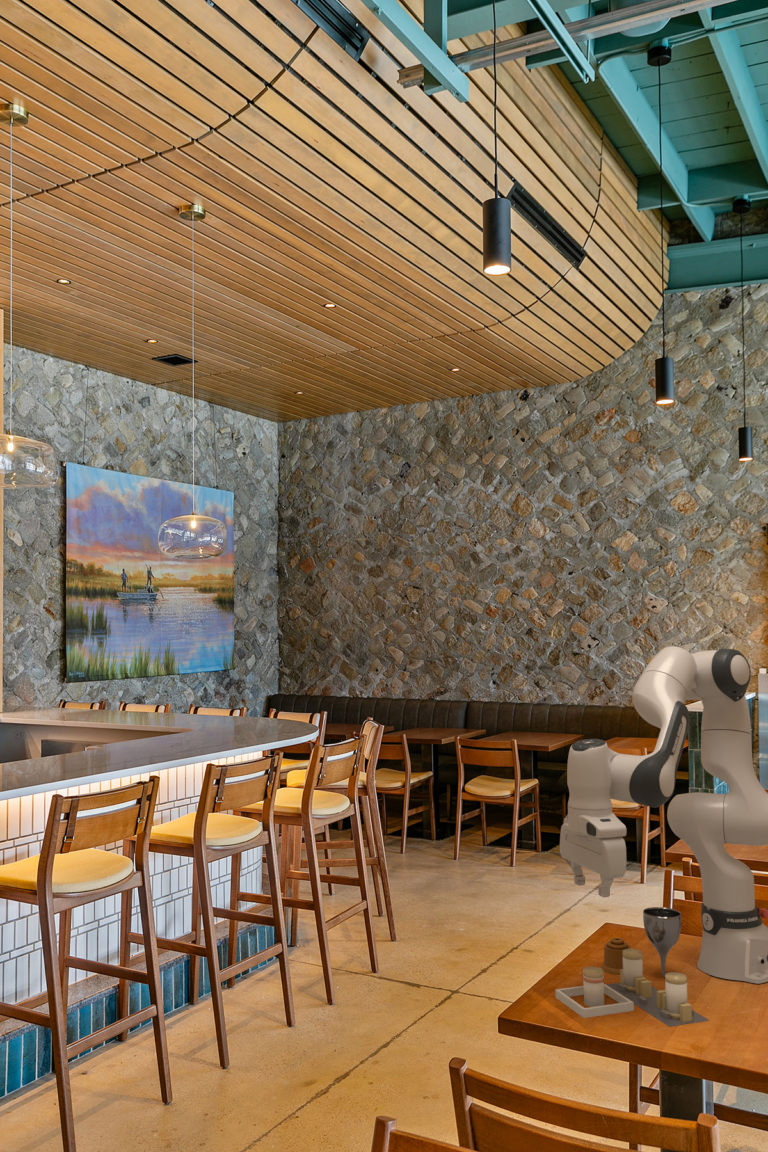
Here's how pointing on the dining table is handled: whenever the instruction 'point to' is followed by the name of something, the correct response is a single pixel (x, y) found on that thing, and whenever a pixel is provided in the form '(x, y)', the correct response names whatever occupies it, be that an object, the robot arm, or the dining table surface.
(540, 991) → the dining table surface
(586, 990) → the marked fuse
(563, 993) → the tray
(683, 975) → the fuse
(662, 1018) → the fuse block
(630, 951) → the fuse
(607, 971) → the ornamental finial
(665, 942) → the wine glass
